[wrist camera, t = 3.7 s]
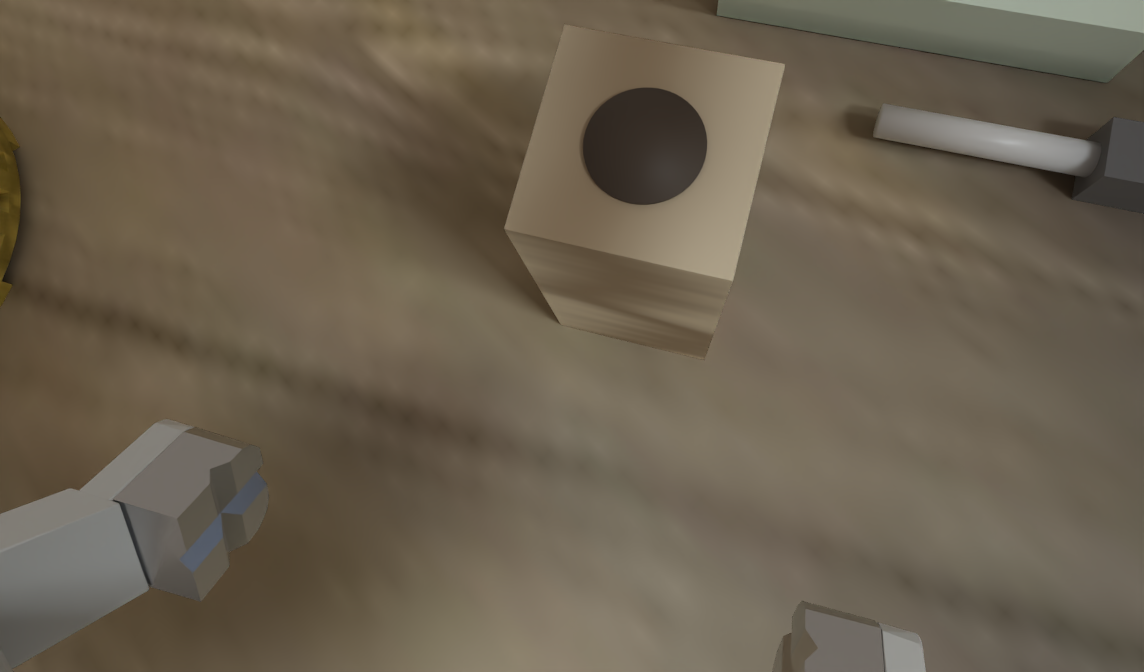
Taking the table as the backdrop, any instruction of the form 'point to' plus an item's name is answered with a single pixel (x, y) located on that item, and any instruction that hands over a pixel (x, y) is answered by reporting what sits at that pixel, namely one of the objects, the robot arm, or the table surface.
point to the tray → (975, 29)
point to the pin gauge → (1035, 150)
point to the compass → (8, 202)
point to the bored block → (642, 185)
